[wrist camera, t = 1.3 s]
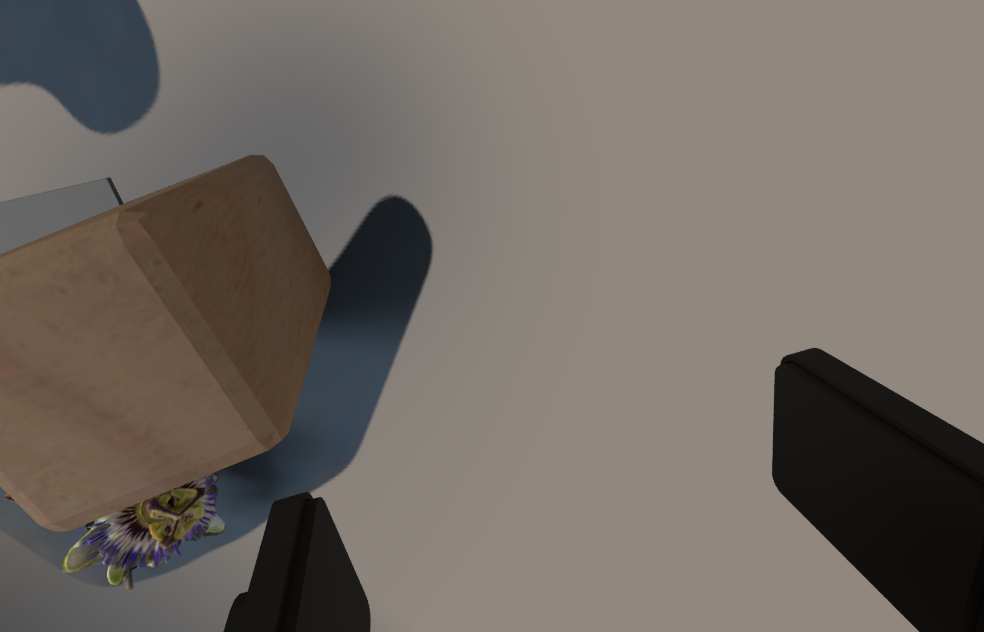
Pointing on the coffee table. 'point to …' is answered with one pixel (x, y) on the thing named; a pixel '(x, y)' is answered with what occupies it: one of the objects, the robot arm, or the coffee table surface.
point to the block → (155, 343)
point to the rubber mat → (53, 211)
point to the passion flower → (147, 531)
